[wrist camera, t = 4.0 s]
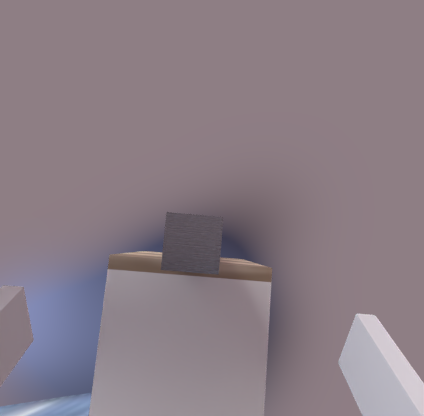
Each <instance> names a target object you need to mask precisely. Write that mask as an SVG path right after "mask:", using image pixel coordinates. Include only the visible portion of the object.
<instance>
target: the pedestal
mask: <svg viewBox="0 0 424 416" xmlns="http://www.w3.org/2000/svg"><path fill="white" fill-rule="evenodd" d="M161 262H162V253H159V252H148V251H141V252H132V253H122V254H112V255H110V257H109V264H108V272H107V281H106V288H105V296H104V303H103V311H102V319H101V326H100V334H99V341H98V349H97V357H96V364H95V372H94V380H93V388H92V395H91V403H90V411H89V416H264V404H265V385H266V368H267V348H268V331H269V330H268V329H269V313H270V295H271V276H272V268H270V267H267V266H263V265H260V264H256V263H253V262H250V261H247V260H243V259H232V258H220V264H219V275H216V274H204V273H191V272H179V271H166V270H161Z"/></svg>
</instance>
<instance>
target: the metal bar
mask: <svg viewBox="0 0 424 416" xmlns="http://www.w3.org/2000/svg"><path fill="white" fill-rule="evenodd" d="M222 225H223V217H214V216H202V215H192V214H181V213H169V212H167V215H166V224H165V233H164V234H165V235H164V243H163V252H162V262H161V270H166V271H179V272H191V273H204V274H216V275H219V264H220V251H221V238H222Z"/></svg>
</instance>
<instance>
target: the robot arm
mask: <svg viewBox="0 0 424 416" xmlns="http://www.w3.org/2000/svg"><path fill="white" fill-rule="evenodd" d="M32 342H33V334H32V329H31V324H30V318H29V313H28V308H27V303H26V297H25V292H24V287H17V286H5V285H4V286H2V287H1V288H0V387H1V385H2V384H3V382H4V381H5V380H6V378H7V377H8V375H9V374H10V372H11V371H12V370H13V368H14V367H15V365H16V364H17V363H18V361H19V360H20V358H21V357H22V356H23V354H24V353H25V351H26V350H27V349H28V347H29V346H30V344H31V343H32ZM338 363H339V366H340V367H341V370H342V372H343V374H344V376H345V379H346V381H347V383H348V385H349V387H350V389H351V392H352V394H353V396H354V398H355V400H356V403H357V405H358V407H359V409H360V412H361V414H362V416H424V383H423V382H422V380H421V379H420V378H419V376H418V375H417V373H416V372H415V371H414V369H413V368H412V366H411V365H410V364H409V362H408V361H407V359H406V358H405V356H404V355H403V354H402V352H401V351H400V349H399V348H398V347H397V345H396V344H395V342H394V341H393V340H392V339H391V337H390V335H389V334H388V333H387V331H386V330H385V328H384V327H383V326H382V325H381V323H380V321H379V320H378V319H377V317H376V316H375V315H367V314H356V316H355V319H354V321H353V324H352V327H351V330H350V332H349V335H348V338H347V340H346V343H345V345H344V348H343V351H342V353H341V356H340V359H339V361H338Z"/></svg>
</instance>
